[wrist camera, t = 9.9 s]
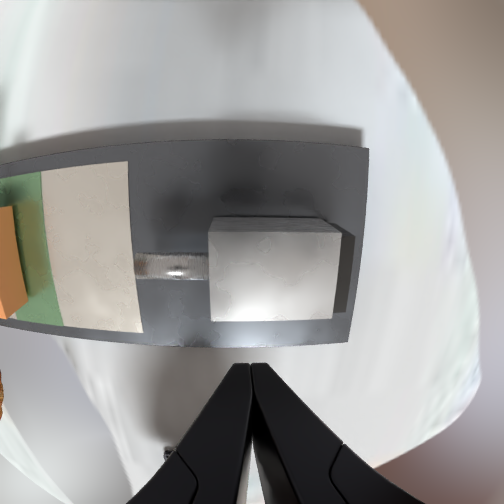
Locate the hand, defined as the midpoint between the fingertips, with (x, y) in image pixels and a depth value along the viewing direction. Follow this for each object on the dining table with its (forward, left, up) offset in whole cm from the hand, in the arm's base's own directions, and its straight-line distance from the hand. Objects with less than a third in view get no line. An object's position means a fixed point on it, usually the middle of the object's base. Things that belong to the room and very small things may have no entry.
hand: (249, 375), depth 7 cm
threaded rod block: (0, 0, -10) cm, 10 cm away
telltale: (0, +16, -10) cm, 19 cm away
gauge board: (0, +8, -12) cm, 14 cm away
